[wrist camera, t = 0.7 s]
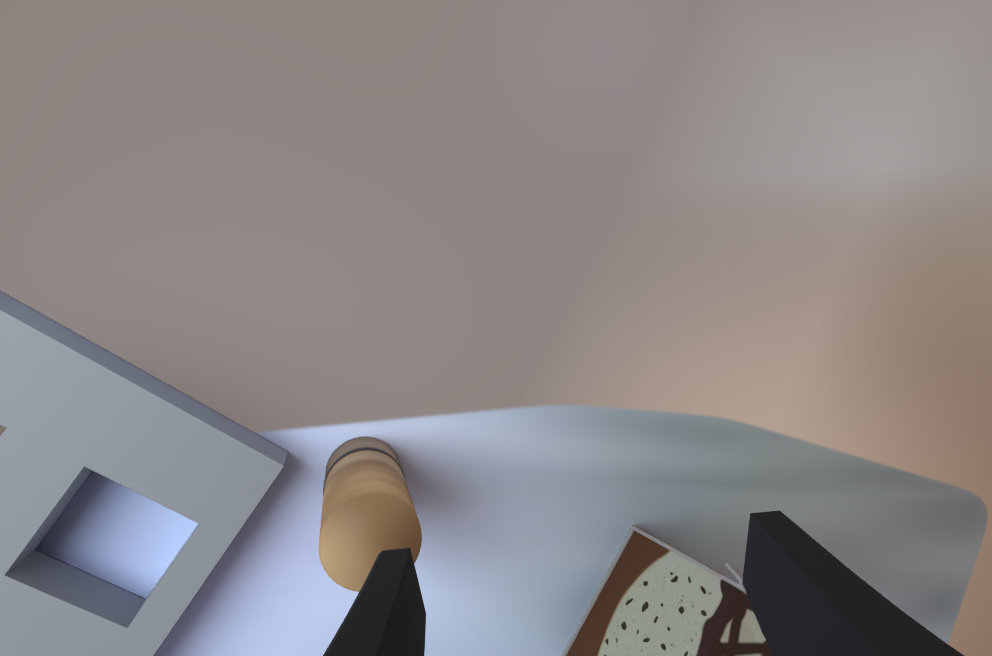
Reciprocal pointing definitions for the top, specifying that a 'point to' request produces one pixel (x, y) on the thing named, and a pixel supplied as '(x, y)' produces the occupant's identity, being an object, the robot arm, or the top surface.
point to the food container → (666, 608)
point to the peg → (364, 511)
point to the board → (122, 458)
